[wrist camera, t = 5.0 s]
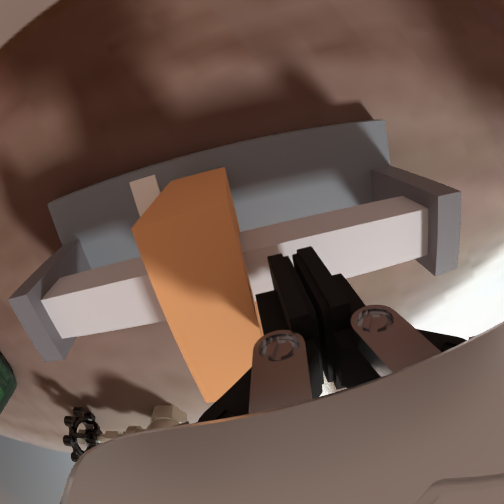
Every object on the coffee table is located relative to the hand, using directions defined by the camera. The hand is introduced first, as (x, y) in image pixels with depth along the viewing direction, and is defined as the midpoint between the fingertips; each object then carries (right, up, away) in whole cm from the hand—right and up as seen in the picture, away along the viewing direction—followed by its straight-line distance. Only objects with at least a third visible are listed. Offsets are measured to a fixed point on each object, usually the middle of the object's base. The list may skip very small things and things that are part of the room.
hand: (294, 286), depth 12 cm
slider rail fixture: (-3, +3, +9) cm, 10 cm away
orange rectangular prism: (-4, +2, +6) cm, 7 cm away
